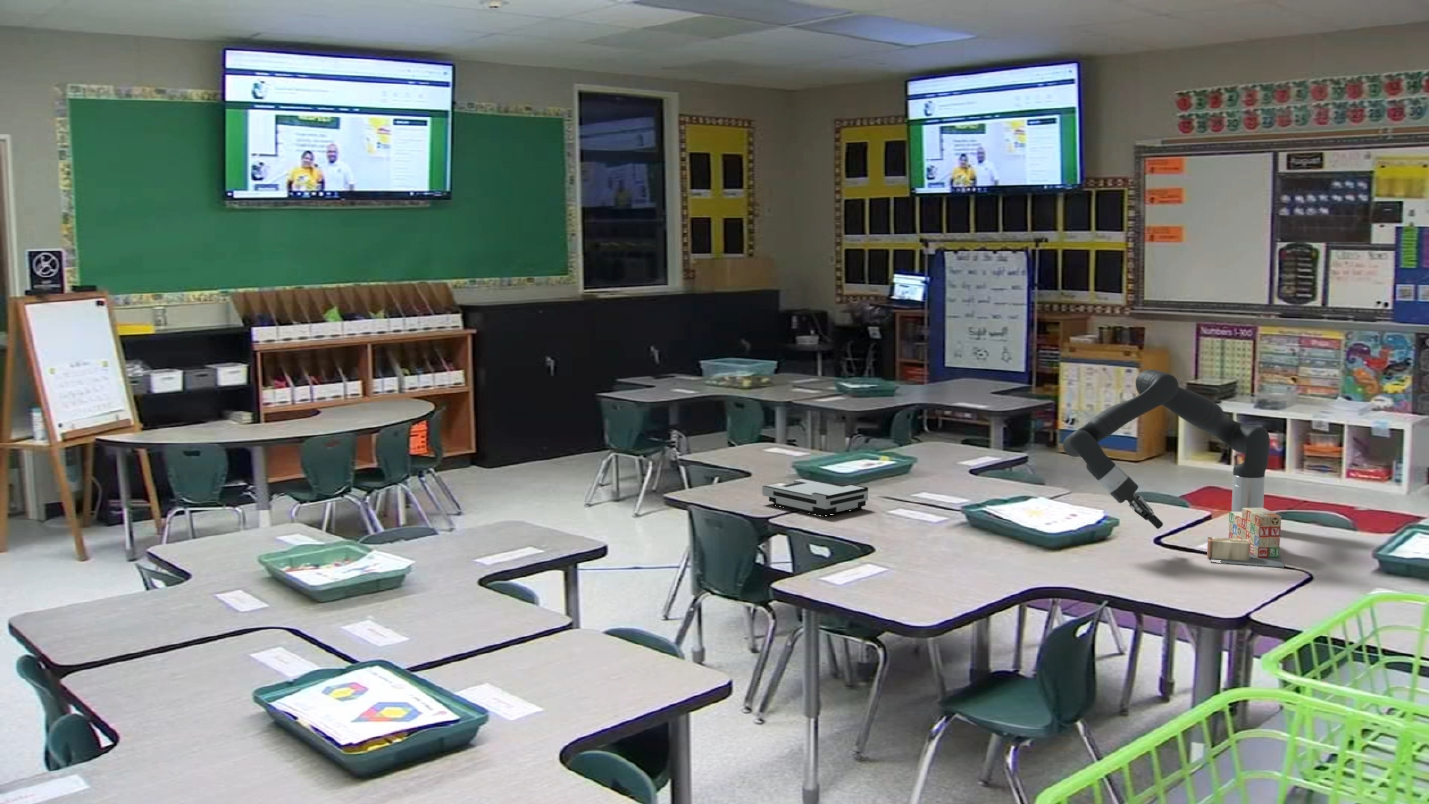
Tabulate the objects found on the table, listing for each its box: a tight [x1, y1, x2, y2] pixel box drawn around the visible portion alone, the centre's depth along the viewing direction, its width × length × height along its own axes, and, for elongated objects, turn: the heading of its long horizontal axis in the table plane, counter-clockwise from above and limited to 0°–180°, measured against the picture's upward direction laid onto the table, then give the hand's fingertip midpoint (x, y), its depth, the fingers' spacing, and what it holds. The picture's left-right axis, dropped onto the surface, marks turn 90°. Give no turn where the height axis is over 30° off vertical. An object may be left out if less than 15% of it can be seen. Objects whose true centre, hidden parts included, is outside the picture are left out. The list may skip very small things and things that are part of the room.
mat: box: [1210, 552, 1285, 569], centre depth 348 cm, size 13×19×1 cm
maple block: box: [1206, 536, 1250, 561], centre depth 349 cm, size 5×5×11 cm
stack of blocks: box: [1228, 507, 1282, 557], centre depth 358 cm, size 21×6×12 cm, turn 179°
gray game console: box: [761, 477, 869, 516], centre depth 427 cm, size 21×32×8 cm, turn 40°
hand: (1160, 526), depth 355 cm, fingers closed
